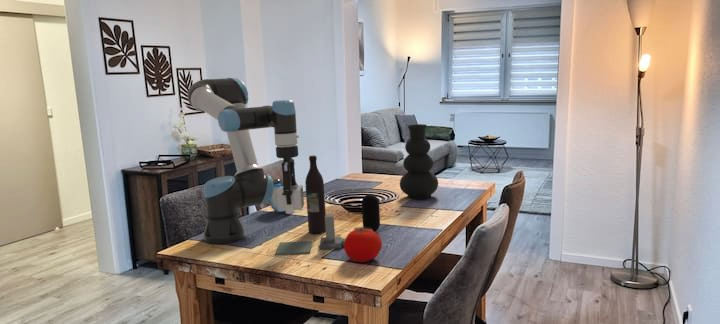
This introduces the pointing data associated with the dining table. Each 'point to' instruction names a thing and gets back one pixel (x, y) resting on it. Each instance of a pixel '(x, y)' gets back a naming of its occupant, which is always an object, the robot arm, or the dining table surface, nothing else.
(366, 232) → the tomato
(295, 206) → the white block
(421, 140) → the vase
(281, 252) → the rubber mat
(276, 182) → the alarm clock
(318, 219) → the wine bottle
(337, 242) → the post
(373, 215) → the decorative object
